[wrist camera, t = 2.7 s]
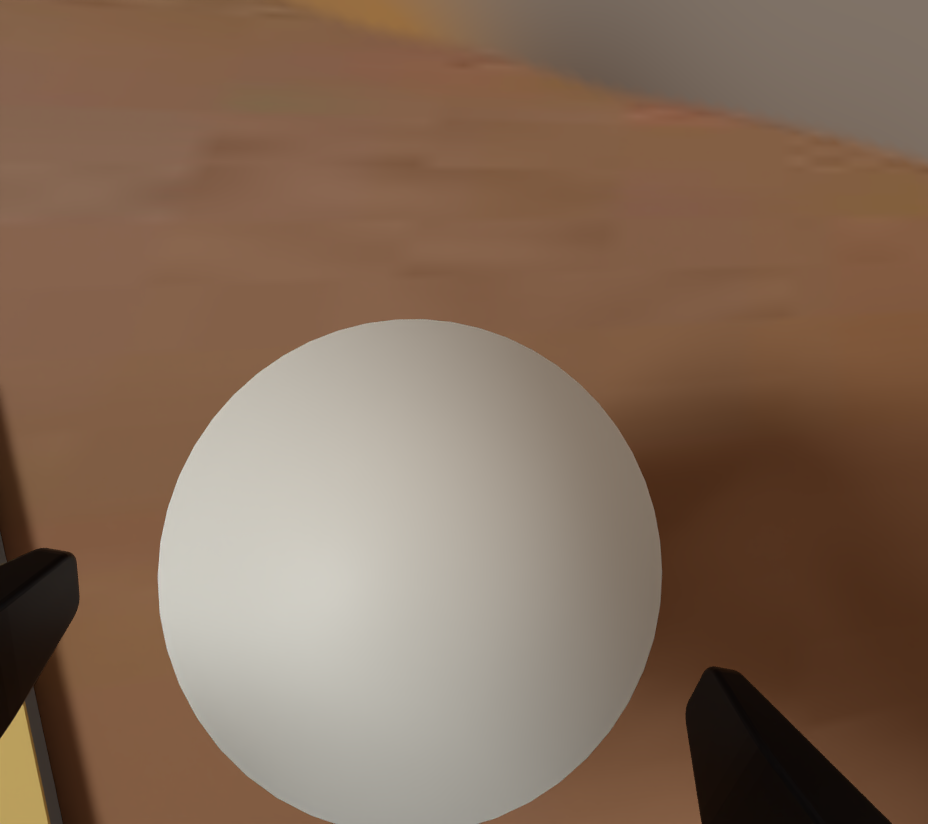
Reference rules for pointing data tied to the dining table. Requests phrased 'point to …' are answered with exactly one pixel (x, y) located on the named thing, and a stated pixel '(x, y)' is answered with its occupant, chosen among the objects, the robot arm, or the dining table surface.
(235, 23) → the dining table surface
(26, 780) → the mat
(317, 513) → the skittle
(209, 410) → the dining table surface
